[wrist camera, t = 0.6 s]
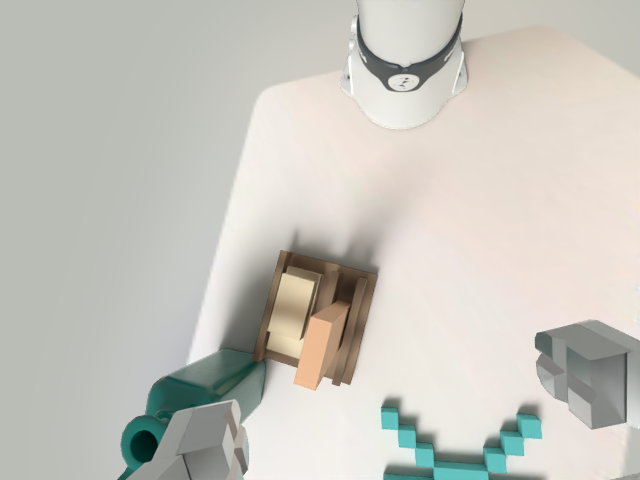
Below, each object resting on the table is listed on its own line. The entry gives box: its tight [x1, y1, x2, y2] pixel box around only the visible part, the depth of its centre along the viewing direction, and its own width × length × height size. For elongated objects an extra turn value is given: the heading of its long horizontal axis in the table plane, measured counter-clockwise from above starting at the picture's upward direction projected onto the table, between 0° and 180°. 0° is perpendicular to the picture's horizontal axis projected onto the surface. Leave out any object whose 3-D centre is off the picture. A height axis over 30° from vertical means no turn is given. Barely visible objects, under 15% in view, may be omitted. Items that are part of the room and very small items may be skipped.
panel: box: [294, 301, 352, 390], centre depth 40 cm, size 6×2×20 cm, turn 165°
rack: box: [252, 250, 377, 386], centre depth 49 cm, size 16×14×6 cm
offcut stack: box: [266, 266, 324, 359], centre depth 49 cm, size 12×5×5 cm, turn 165°
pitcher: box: [118, 348, 266, 480], centre depth 43 cm, size 10×8×22 cm
